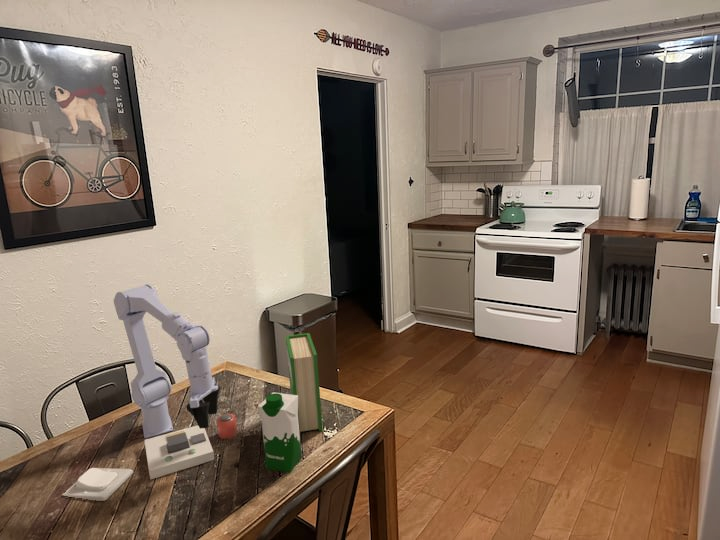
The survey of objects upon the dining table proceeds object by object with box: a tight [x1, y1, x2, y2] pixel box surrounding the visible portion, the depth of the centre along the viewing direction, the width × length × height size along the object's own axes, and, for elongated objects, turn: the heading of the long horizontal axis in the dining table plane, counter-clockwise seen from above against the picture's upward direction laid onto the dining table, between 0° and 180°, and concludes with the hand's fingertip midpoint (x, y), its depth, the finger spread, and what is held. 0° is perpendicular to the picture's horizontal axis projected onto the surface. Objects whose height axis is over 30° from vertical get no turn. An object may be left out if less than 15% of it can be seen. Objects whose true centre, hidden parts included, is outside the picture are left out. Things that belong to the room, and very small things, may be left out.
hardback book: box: [285, 332, 324, 436], centre depth 147 cm, size 18×7×24 cm, turn 13°
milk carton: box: [257, 392, 303, 474], centre depth 126 cm, size 9×9×20 cm
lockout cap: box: [216, 413, 238, 440], centre depth 143 cm, size 5×5×5 cm
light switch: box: [61, 467, 134, 502], centre depth 123 cm, size 11×4×13 cm
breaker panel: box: [144, 424, 215, 480], centre depth 134 cm, size 16×16×3 cm
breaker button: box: [166, 432, 189, 454], centre depth 134 cm, size 5×5×2 cm
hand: (208, 420), depth 131 cm, fingers open, 7 cm apart
